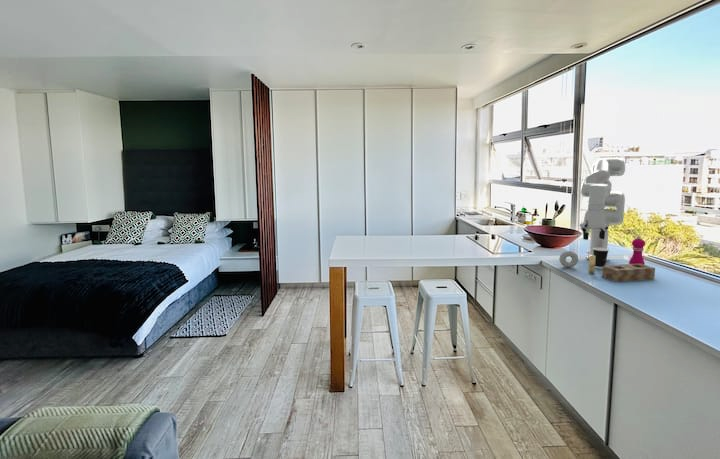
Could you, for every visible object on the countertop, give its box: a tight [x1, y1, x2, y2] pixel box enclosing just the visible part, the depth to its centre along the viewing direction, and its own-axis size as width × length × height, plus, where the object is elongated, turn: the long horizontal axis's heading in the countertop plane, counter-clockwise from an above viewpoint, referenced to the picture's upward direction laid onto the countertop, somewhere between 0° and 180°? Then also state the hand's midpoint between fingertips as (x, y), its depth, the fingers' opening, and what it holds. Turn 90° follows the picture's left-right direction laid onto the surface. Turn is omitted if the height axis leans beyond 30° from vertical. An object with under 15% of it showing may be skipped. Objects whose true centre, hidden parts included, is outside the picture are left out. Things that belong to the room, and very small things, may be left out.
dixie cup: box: [593, 247, 609, 270], centre depth 240 cm, size 8×8×11 cm
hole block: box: [601, 263, 656, 283], centre depth 218 cm, size 22×10×6 cm, turn 99°
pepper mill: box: [628, 235, 646, 265], centre depth 229 cm, size 7×7×20 cm
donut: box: [559, 250, 579, 268], centre depth 241 cm, size 10×4×10 cm, turn 76°
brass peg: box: [587, 255, 596, 275], centre depth 228 cm, size 3×3×10 cm
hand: (593, 239), depth 225 cm, fingers open, 9 cm apart
